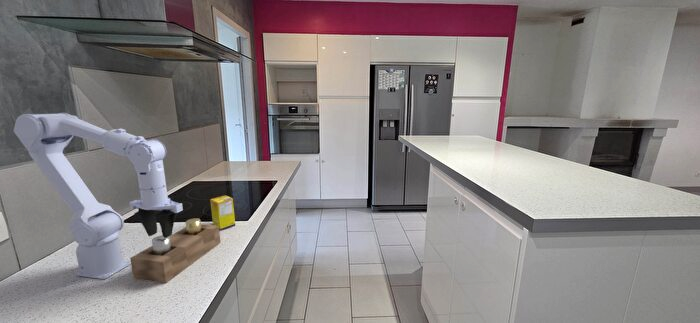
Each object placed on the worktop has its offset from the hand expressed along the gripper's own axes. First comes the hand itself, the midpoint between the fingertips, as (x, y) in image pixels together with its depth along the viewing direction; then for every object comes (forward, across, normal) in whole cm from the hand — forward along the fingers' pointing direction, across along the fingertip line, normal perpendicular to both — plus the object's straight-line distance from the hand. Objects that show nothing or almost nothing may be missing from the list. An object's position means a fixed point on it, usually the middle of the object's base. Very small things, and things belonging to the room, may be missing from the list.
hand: (160, 235), depth 77 cm
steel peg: (+6, 0, 0) cm, 6 cm away
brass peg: (+6, 0, -12) cm, 14 cm away
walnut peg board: (+10, 0, -6) cm, 12 cm away
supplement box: (+11, +2, -29) cm, 31 cm away
